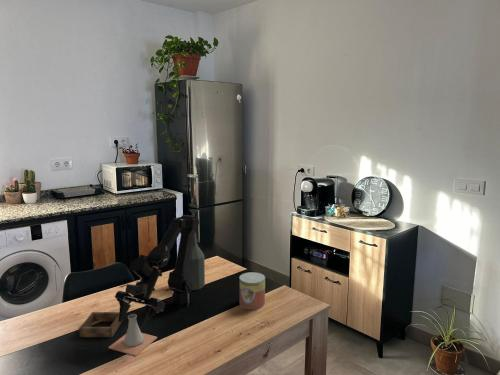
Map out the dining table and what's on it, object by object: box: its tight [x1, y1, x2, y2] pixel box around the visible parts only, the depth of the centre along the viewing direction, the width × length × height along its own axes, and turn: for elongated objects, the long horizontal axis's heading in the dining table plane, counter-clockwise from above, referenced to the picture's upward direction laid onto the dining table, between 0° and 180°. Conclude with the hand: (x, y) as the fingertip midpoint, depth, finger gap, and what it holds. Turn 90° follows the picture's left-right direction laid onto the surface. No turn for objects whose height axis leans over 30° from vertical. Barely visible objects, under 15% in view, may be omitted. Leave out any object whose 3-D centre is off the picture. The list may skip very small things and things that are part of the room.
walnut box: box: [78, 311, 124, 338], centre depth 146 cm, size 12×12×4 cm
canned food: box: [238, 271, 266, 310], centre depth 166 cm, size 11×11×12 cm
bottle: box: [187, 231, 206, 291], centre depth 181 cm, size 10×10×30 cm
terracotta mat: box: [107, 332, 158, 357], centre depth 137 cm, size 12×12×1 cm
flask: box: [123, 313, 144, 347], centre depth 136 cm, size 7×7×10 cm
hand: (129, 324), depth 134 cm, fingers open, 9 cm apart
